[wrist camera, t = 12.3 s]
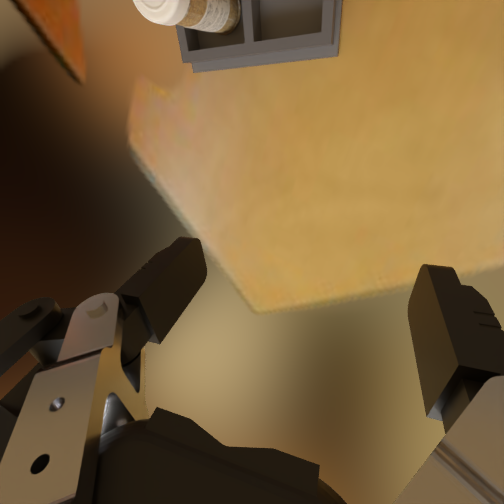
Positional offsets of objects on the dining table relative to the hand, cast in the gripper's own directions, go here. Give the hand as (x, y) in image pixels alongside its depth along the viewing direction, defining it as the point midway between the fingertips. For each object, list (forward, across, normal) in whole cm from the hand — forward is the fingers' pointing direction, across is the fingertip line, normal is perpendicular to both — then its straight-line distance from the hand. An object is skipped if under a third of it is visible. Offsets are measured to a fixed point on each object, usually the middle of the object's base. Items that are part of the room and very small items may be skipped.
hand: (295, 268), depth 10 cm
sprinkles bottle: (+29, +14, -12) cm, 35 cm away
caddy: (+30, +10, -12) cm, 34 cm away
